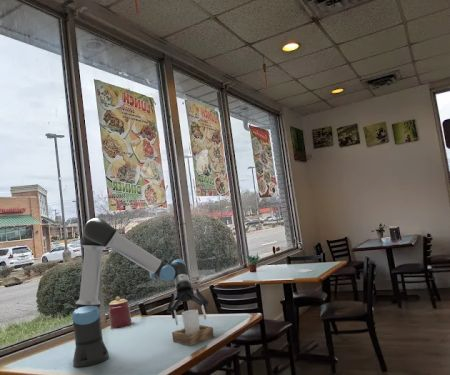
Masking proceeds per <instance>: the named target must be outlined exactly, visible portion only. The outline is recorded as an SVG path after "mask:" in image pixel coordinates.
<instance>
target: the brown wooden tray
mask: <svg viewBox="0 0 450 375" xmlns="http://www.w3.org/2000/svg"><path fill="white" fill-rule="evenodd" d="M199 329H200V331H197V332H194V333H191V334H186V332H185V328H184V327H183V328H181V329H178V330H174V331H172V332H171V333H172V342H173V343H175V344H176V343H177V344H180V345H185V346H193V345H196V344H198V343H201V342H204V341H207V340H209V339H212V338H214V337H215V335H214V328H213V326H208V325H202V324H199Z"/></svg>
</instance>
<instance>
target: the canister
mask: <svg viewBox="0 0 450 375" xmlns="http://www.w3.org/2000/svg"><path fill="white" fill-rule="evenodd" d="M108 305H109V306H108V307H107V308H108V315H109V317H108V318H109V326H110V328H111V329H118V328H123V327H128V326H130V325H131V324H132V317H131V309H130V303H129V301H128V299H125V298H121V297H120V296H116V297H115V299H114V300H111V301H110V302H109V303H108Z"/></svg>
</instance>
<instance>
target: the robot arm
mask: <svg viewBox="0 0 450 375" xmlns="http://www.w3.org/2000/svg"><path fill="white" fill-rule="evenodd" d="M118 231H119V230H118V229H116V228H114V227H113V226H112V225H111V224H109V223H108V222H107V221H106V220H104V219H102V218H101V217H100V218H99V217H95V218H91V219H90V220H88V221H86V223H85V224H84V227H83V230H82V241H81V246H82V247H83V249H84V253H83V254H84V255H83V261H82V262H83V263H82V271H81V278H80V279H81V281H80V289H79V290H80V291H79V297H78V298H79V299H78V300H77V301H76V302H75V305H74V306H75V307H74V311H72V316H71V320H72V326H73V333H74V342H75V349H74V354H73V360H72V363H73V364H72V365H73V367H75V368H83V367H90V366H91V367H92V366H94V365H97V364H100V363H103V362H105V361H106V360H107V359H109V356H110V355H109V351H108V348H107V346H106V344H105V342H104V340H103V332H102V329H103V328H102V323H101V303H102V302H100V300H99V292H100V291H99V290H100V280H101V273H102V272H101V270H102V261H103V251H104V250H105V249H107V248H110V249H111V250H113V251H115V252H116V253H118V254H120V255H121V256H123V257H125V258H126V259H128V260H130V261H131V262H133V263H135V264H136V265H138V266H139V267H141V268H143V269H144V270H146V271H147V272H149V278H150V279H151V280H162V281H164V282H170V281H172V280H174V283H175V289H176V293H175V294H174V293H171V298H170V301H169V303H168V306H167V310H166V312H167V314H171V318H172V319H173V320H174V321H175V325H176V326H179V322H178V316H177V312H176V311H177V309H178V307H179V306H180V304H182V302H183V303H185V302H189V301H191V302H194V303H196V304H197V305H198V306H201V311H202V315H203V319H204V320H207V314H206V313H207V311H208V310H207V309H208V308H207V306H209V299H207V298H206V297H205V296H204V295H203V294H202V293H201V292H200V290H199V288H196V289H195V290H193V288H192V285H191V284H192V283H191V282H190V280H191V279H190V277H189V273H188V268H187V265H186V262H185V260H183V258H176V259H174V260H173V261H172V262H171V263H169V264H168V263H166V262H164V261H163V260H161V259H159V258H158V257H156V256H155V255H153V254H152V253H150V252H148V251H147V250H145V249H143V248H142V247H140V246H139V245H137V244H136V243H135V242H133V241H131V240H130V239H128V238H127V237H124V236H123V235H122V234H120V233H119V232H118ZM194 294H195V295H194ZM176 299H177V300H176ZM175 300H176V301H175ZM174 302H175V303H174Z"/></svg>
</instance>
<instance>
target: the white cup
mask: <svg viewBox="0 0 450 375" xmlns="http://www.w3.org/2000/svg"><path fill="white" fill-rule="evenodd" d="M199 316H200V315H199V310H198V309H188V310H185V311H182V312H181V318H182V323H183V329H184V328H185V332H186V334H191V333H194V332H197V331H200V329H199V325H200V318H199Z"/></svg>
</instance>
